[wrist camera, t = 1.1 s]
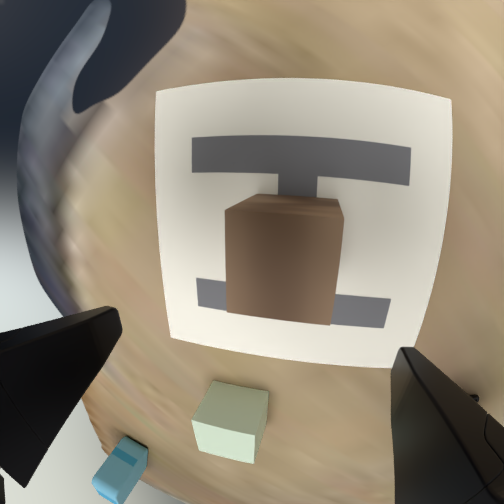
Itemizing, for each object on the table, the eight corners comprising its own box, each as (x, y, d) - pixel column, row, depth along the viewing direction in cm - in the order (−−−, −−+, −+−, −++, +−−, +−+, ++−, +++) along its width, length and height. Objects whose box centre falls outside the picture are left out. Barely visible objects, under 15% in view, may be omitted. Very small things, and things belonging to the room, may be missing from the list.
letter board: (445, 102, 13) (451, 99, 12) (403, 360, 20) (405, 368, 19) (163, 93, 18) (155, 91, 17) (176, 331, 24) (170, 337, 23)
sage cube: (269, 390, 24) (255, 435, 19) (266, 423, 26) (253, 463, 21) (213, 379, 25) (191, 419, 20) (217, 413, 27) (199, 450, 22)
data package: (125, 433, 36) (89, 480, 25) (148, 446, 35) (115, 497, 24) (127, 455, 40) (99, 495, 29) (147, 466, 40) (120, 508, 29)
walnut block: (337, 199, 16) (344, 218, 11) (330, 275, 18) (330, 325, 12) (257, 193, 17) (224, 209, 12) (255, 268, 19) (226, 312, 14)
